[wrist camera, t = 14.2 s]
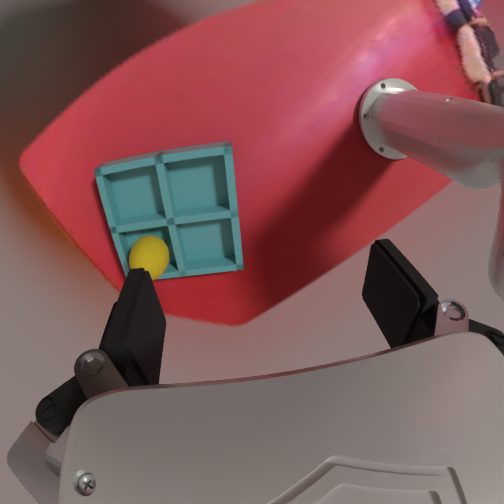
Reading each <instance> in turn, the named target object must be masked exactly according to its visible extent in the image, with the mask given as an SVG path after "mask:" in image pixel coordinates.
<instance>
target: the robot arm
mask: <svg viewBox="0 0 504 504" xmlns="http://www.w3.org/2000/svg"><path fill="white" fill-rule="evenodd" d="M380 85H381V86H380ZM364 115H365V117H364ZM359 125H360V129H361V132H362V135H363V137H364V139H365V141H366V142H367V143H368V145H369V146H370V147H371V148H372V149H373V150H374V151H375V152H377V153H378V154H380V155H382V156H384V157H386V158H390V159H403V158H406V157H410V158H412V159H414V160H416V161H418V162H420V163H422V164H424V165H426V166H428V167H430V168H432V169H434V170H436V171H437V172H439V173H441V174H443V175H445V176H447V177H448V178H450V179H452V180H454V181H456V182H457V183H459V184H461V185H463V186H465V187H467V188H471V189H478V190H479V189H485V188H489V187H492V186H494V185H496V184H498V183H500V185H501V195H500V203H499V205H500V207H499V214H498V219H497V224H496V229H495V233H494V238H493V242H492V247H491V251H490V256H489V263H488V275H489V280H490V283H491V285H492V287H493V289H494V291H495V292H496V293H497V295H498V296H499V297H500V298H501V299H502V300H503V301H504V107H500V106H495V105H491V104H487V103H482V102H478V101H474V100H469V99H464V98H459V97H454V96H449V95H444V94H438V93H431V92H424V91H418V90H417V89H416V88H415V87H414V86H413V85H412V84H410V83H408V82H407V81H405V80H402V79H398V78H385V79H381V80H378V81H377V82H375V83H373V84H372V85H371V86H370V87H369V88H368V89H367V91H366V92H365V93H364V95H363V98H362V100H361V103H360V107H359ZM379 148H380V149H379ZM362 296H363V300H364V302H365V303H366V305H367V307H368V308H369V310H370V312H371V314H372V315H373V317H374V319H375V320H376V322H377V324H378V326H379V328H380V329H381V331H382V333H383V335H384V336H385V338H386V340H387V342H388V344H389V346H390V347H391V349H387V350H384V351H380V352H376V353H372V354H368V355H365V356H360V357H356V358H352V359H348V360H343V361H339V362H334V363H330V364H325V365H320V366H315V367H310V368H304V369H299V370H294V371H287V372H281V373H275V374H268V375H261V376H253V377H246V378H238V379H227V380H217V381H206V382H192V383H177V384H159V376H160V367H161V359H162V352H163V343H164V337H165V330H166V319H165V316H164V313H163V310H162V308H161V305H160V302H159V299H158V296H157V293H156V291H155V288H154V285H153V282H152V278H151V275H150V273H149V271H145V269H144V268H135V269H130V270H129V272H128V274H127V277H126V280H125V282H124V285H123V287H122V290H121V293H120V295H119V298H118V301H117V302H115V303H114V305H113V308H112V311H111V313H110V316H109V319H108V322H107V324H106V327H105V330H104V333H103V336H102V339H101V343H100V346H99V349H91V350H88V351H86V352H84V353H82V354H81V355H80V356H79V357H78V358H77V360H76V362H75V364H74V373H75V376H74V377H72V378H71V379H70V380H68V381H67V382H65V383H64V384H63V385H61V386H60V387H58V388H57V389H56V390H54V391H53V392H51V393H50V394H49V395H47V396H46V397H45V398H43V399H42V400H41V401H40V403H39V404H38V406H37V408H36V421H35V422H32V421H31V422H30V423H29V424H28V426H27V427H26V428H25V429H24V431H23V432H22V433H21V435H20V436H19V437H18V439H17V440H16V441H15V443H14V444H13V446H12V447H11V448H10V450H9V452H8V455H7V462H8V465H9V467H10V469H11V470H12V472H13V473H14V474H15V476H16V477H17V478H18V479H19V481H20V482H21V483H22V484H23V486H25V488H26V489H27V490H28V491H29V493H30V494H31V495H32V496H33V497H34V498H35V499H36V500H37V502H38V503H39V504H504V334H503V333H502V332H501V331H499V330H497V329H495V328H492V327H490V326H487V325H484V324H482V323H479V322H476V321H474V320H471V319H469V315H468V311H467V309H466V307H465V306H464V305H463V304H462V303H460V302H459V301H456V300H454V299H444V300H442V301H441V302H439V301H438V300H437V298H438V294H437V293H436V292H435V291H434V290H433V288H432V287H431V286H430V285H429V284H428V283H427V281H426V280H425V279H424V278H423V277H422V276H421V274H420V273H419V272H418V271H417V270H416V269H415V267H414V266H413V265H412V264H411V263H410V262H409V261H408V260H407V258H406V257H405V256H404V255H403V254H402V253H401V252H400V251H399V250H398V249H397V248H396V247H395V245H394V244H393V243H392V242H391V241H390V240H389V239H381V240H376V241H375V242H374V244H372V245H371V248H370V255H369V260H368V265H367V271H366V276H365V281H364V286H363V290H362Z"/></svg>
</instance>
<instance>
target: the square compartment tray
mask: <svg viewBox="0 0 504 504" xmlns="http://www.w3.org/2000/svg"><path fill="white" fill-rule="evenodd" d="M94 172H95V177H96V181H97V185H98V189H99V193H100V196H101V200H102V204H103V207H104V211H105V214H106V218H107V221H108V225H109V228H110V231H111V234H112V237H113V241H114V244H115V247H116V250H117V253H118V256H119V258H120V261H121V264H122V267H123V270H124V272H125V275H126V277H127V274H128V272H129V270H130V266H129V254H130V251H131V248H132V246H133V245H134V243H135V242H136V241H137V240H139V239H140V238H141V237H144V236H148V235H153V236H157V237H159V238H161V239H162V240H163V241H164V242H165V243H166V245H167V247H168V250H169V262H168V266H167V268H166V270H165V271H164V273H163V274H162V275H161V276H160V277H159V278H157V279H164V278H174V277H183V276H192V275H201V274H210V273H219V272H227V271H236V270H244V266H243V256H242V246H241V236H240V226H239V216H238V206H237V195H236V185H235V175H234V164H233V153H232V144H231V141H226V142H217V143H209V144H201V145H194V146H187V147H180V148H174V149H168V150H162V151H157V152H151V153H146V154H141V155H136V156H131V157H126V158H122V159H117V160H113V161H109V162H104V163H102V164H101V165H100V166H98V167H97V168H95V169H94Z"/></svg>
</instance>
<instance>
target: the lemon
mask: <svg viewBox="0 0 504 504" xmlns="http://www.w3.org/2000/svg"><path fill="white" fill-rule="evenodd" d="M168 262H169V250H168V247H167V245H166V243H165V242H164V241H163V240H162V239H161V238H159V237H157V236H153V235H148V236H144V237H141V238H140V239H139V240H137V241H136V242H135V243H134V245H133V246H132V248H131V251H130V254H129V266H130V269H135V268H144V269H145V271H149V273H150V275H151V278H152V281H153V280H155V279H157V278H159V277H160V276H161V275H162V274H163V273H164V271H165V270H166V268H167V266H168Z"/></svg>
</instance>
